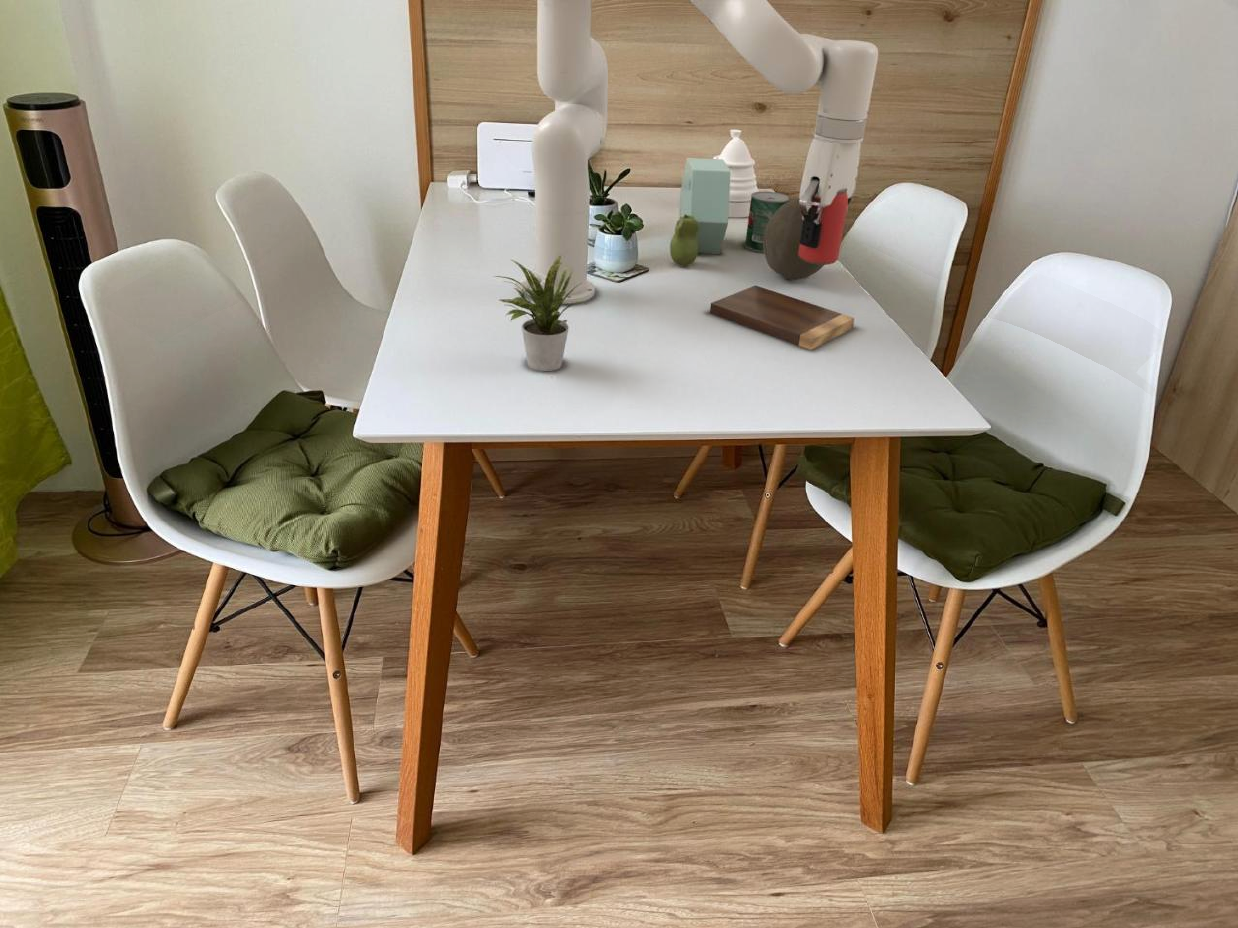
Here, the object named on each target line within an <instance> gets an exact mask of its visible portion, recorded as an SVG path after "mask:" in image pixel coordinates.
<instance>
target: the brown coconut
mask: <svg viewBox="0 0 1238 928" xmlns="http://www.w3.org/2000/svg"><path fill="white" fill-rule="evenodd" d="M799 201H800V198H798V199H794V200H790V201H788V202H787V203H785V204H784V205H782V206H781V207H780V208H779V209H778V210H777V211H776V212H775V213H774V214H773V216H772V217H771V219H770V220H769V222H768V224H767V226H766V230H765V233H764V238H763V249H764V253H763V254H764V258H765V261H766V263H767V265H768V267H769V268H770V269H771V270H772V271H774V273H776V274H778V275H780V276H782V277H783V278H785V279H786V280H789V281H796V280H801V279H806V278H808V277H811V276H813V275H814V274H816V273H817V272H819V271H820V270H821V269H822V268H824V266H825V265H817V264H811V263H808V262H805V261H803V260H802V259H801V258H800V257H799V256H798V252H799V246H800V238H801V231H802V225H803V220H802V216H803V215H802V213H801V208H800V205H799Z"/></svg>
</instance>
